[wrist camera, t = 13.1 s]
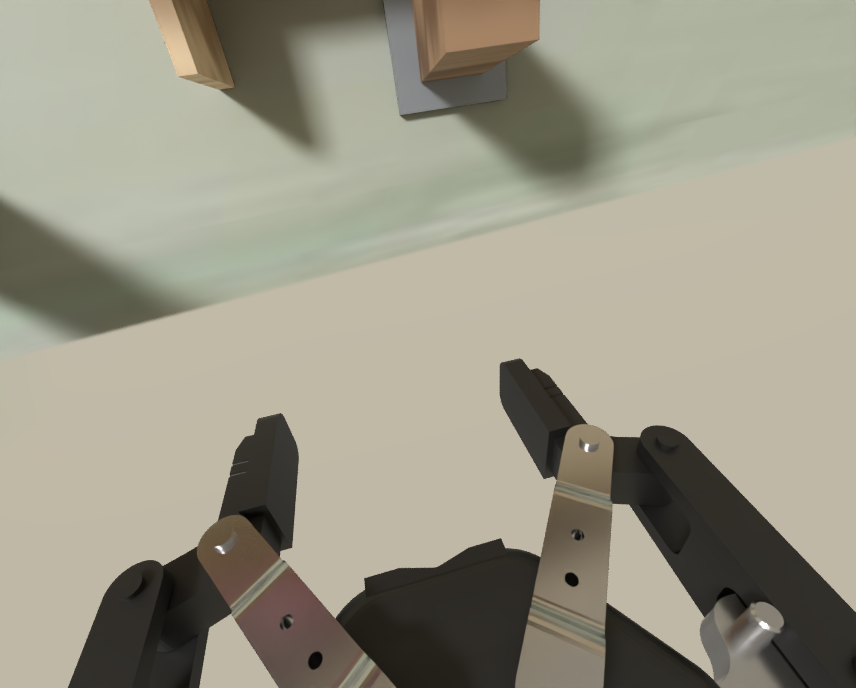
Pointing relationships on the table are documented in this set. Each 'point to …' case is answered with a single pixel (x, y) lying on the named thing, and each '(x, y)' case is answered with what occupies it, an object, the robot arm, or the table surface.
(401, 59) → the mat
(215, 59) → the shelf end
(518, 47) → the plate
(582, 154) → the table surface
